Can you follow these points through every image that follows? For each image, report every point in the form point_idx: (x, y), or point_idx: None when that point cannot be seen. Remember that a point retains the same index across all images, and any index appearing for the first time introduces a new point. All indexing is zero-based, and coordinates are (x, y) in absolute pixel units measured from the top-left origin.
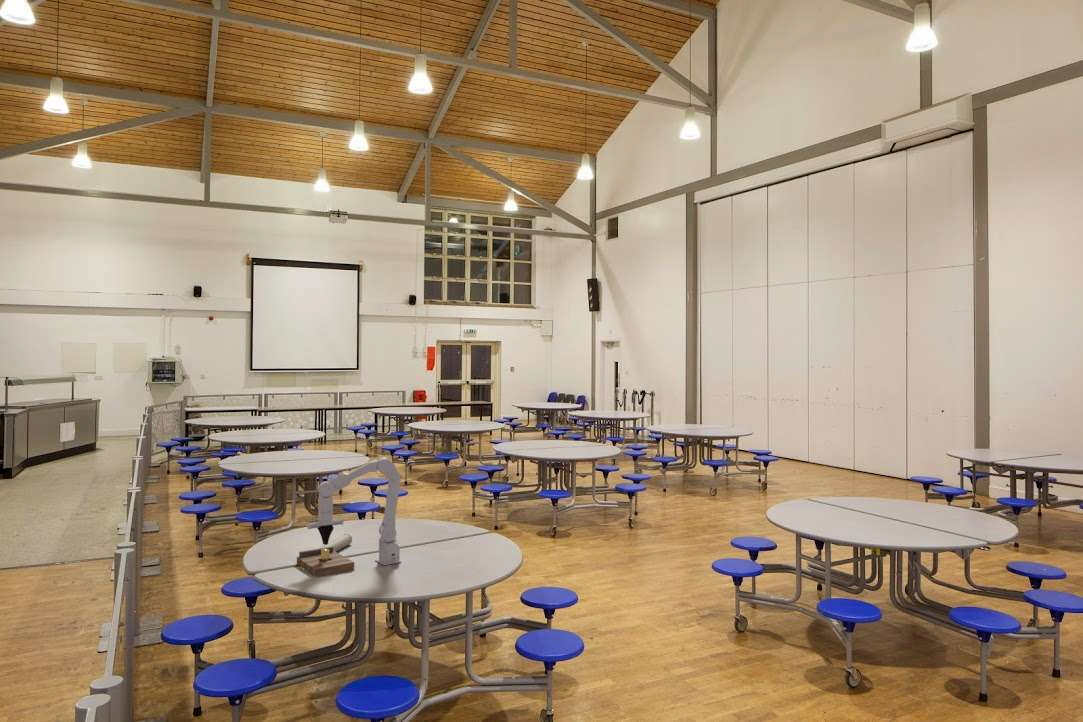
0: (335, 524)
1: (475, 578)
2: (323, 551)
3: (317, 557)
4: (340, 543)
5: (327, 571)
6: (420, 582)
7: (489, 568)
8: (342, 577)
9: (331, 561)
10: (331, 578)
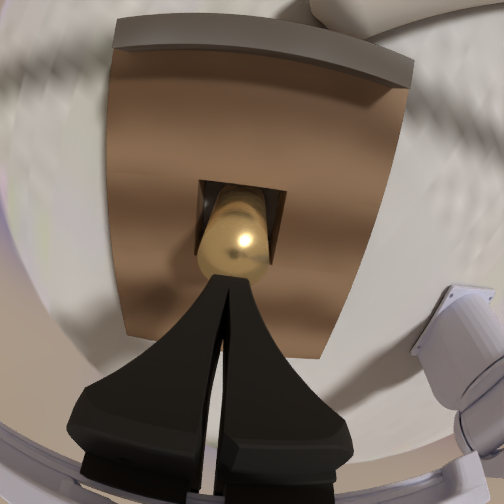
0: (371, 498)
1: (396, 451)
2: (207, 274)
3: (223, 132)
4: (496, 2)
5: None
6: None
7: (450, 427)
8: None
9: None
10: None
